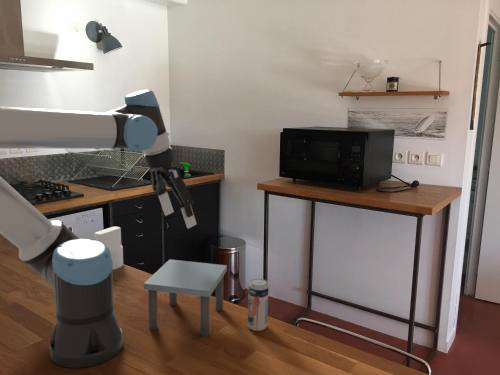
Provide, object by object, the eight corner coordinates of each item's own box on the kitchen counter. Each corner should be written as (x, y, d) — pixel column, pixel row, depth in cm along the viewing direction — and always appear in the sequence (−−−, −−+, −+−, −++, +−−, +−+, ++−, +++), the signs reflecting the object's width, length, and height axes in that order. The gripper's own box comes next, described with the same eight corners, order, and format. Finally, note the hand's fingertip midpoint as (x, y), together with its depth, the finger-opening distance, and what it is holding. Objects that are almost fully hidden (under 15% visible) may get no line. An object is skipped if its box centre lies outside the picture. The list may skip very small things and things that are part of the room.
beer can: (245, 323, 107) (246, 278, 105) (263, 321, 109) (264, 277, 106) (250, 333, 103) (252, 287, 101) (269, 331, 104) (271, 284, 102)
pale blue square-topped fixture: (208, 338, 100) (209, 291, 98) (144, 330, 103) (143, 283, 101) (226, 307, 115) (226, 265, 113) (169, 300, 118) (169, 259, 116)
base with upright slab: (108, 272, 136) (106, 236, 134) (88, 266, 140) (86, 231, 138) (128, 263, 144) (128, 229, 142) (109, 258, 148) (108, 224, 146)
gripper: (192, 150, 105) (214, 225, 113) (150, 139, 124) (171, 203, 133) (165, 162, 101) (190, 238, 109) (126, 148, 121) (150, 214, 129)
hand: (180, 219), depth 121 cm, fingers open, 13 cm apart
